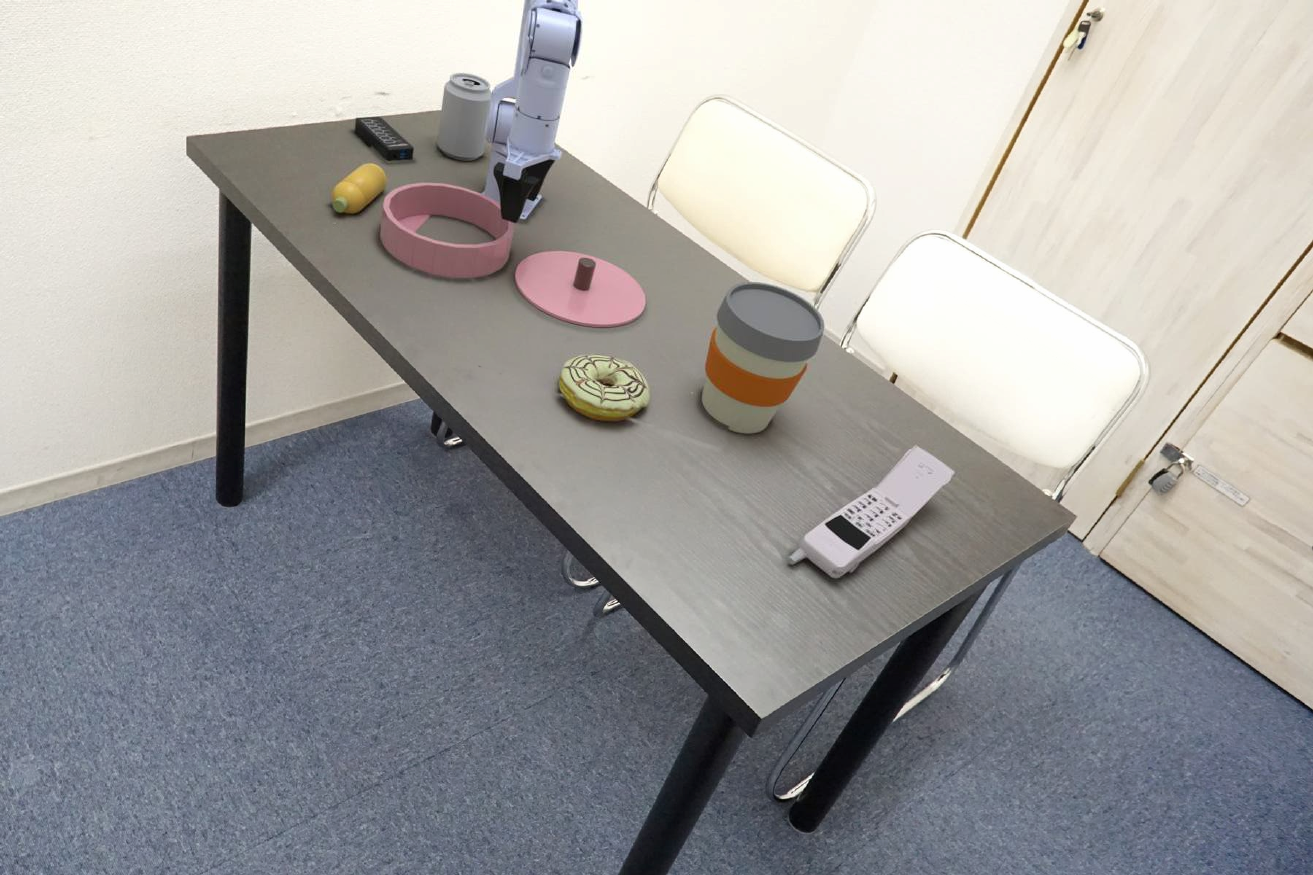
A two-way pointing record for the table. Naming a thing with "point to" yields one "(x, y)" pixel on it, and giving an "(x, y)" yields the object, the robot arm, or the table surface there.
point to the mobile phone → (874, 515)
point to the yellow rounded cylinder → (358, 189)
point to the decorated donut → (603, 387)
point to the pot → (436, 257)
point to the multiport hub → (383, 138)
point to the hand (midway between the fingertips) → (518, 209)
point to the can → (464, 116)
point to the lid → (580, 289)
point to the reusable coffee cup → (758, 354)
